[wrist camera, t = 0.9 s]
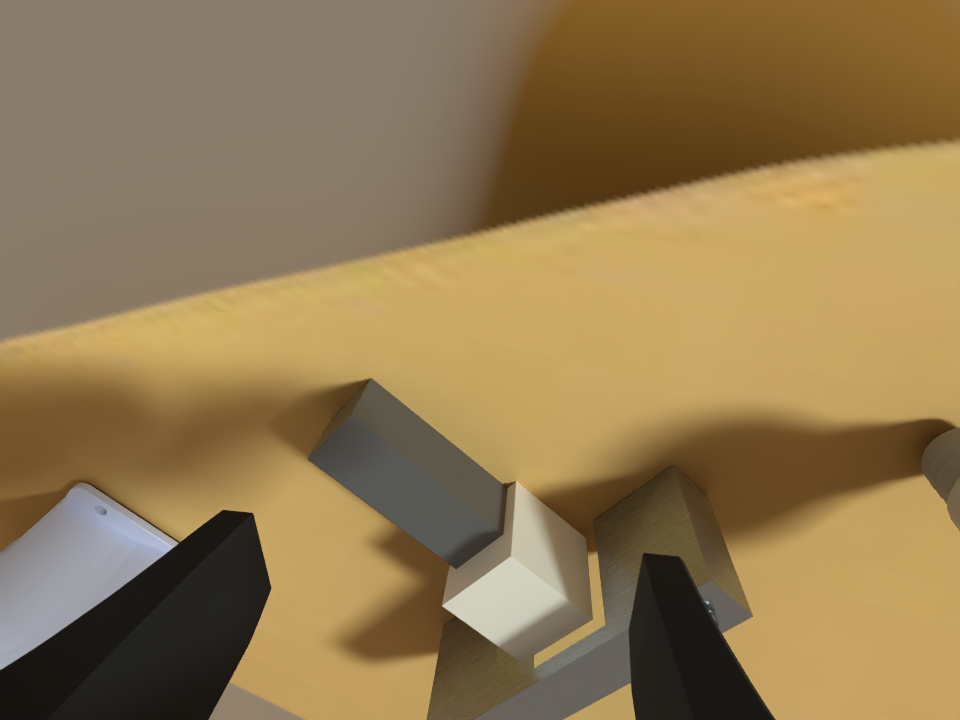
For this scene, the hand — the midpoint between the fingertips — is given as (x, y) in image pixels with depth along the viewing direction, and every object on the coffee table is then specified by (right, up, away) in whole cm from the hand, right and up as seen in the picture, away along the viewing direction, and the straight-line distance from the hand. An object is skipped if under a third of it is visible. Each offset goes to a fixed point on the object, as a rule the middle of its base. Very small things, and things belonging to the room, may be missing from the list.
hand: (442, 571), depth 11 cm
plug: (0, -1, +13) cm, 13 cm away
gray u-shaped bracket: (+4, -5, +14) cm, 16 cm away
